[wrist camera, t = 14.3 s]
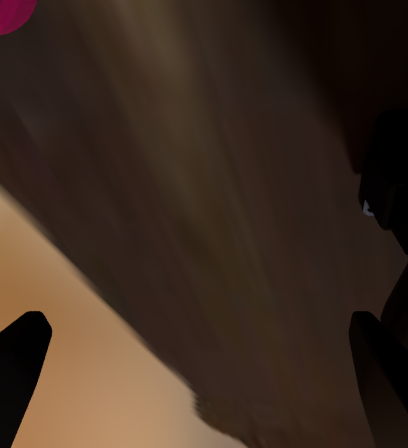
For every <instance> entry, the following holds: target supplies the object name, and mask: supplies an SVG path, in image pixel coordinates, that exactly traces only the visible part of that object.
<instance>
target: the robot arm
mask: <svg viewBox="0 0 408 448" xmlns="http://www.w3.org/2000/svg"><path fill="white" fill-rule="evenodd" d="M388 118H392V120H391V122H390V123H389V124H387V125H385V124H384V122H385V120H386V119H388ZM360 191H361V193H362V195H363V200H362V210H363V212H364V213H365V214H366V215H369V216H375V218H376V220H377V222H378V224H379V225H380V227H381V228H382V229H384V230H392V232H393V234H394V236H395V237H396V239H397V241H398V242H399V244H400V246H401V247H402V249H403V251H404V252H405V254H406V255H408V109H404V110H391V111H386V112H383V113H382V114H381V115H380V116H379V117H378V119H377V123H376V129H375V134H374V140H373V145H372V149H370V150H369V151H368V152H367V153H366V158H365V163H364V169H363V175H362V181H361V187H360ZM368 207H370V209H368ZM380 319H381V322H380V321H379V320H378V319H377V318H376V317H375V316H374V315H373V314H372V313H370V312H368V311H355V312H353V314H352V318H351V322H350V327H349V341H350V346H351V351H352V357H353V362H354V367H355V372H356V378H357V383H358V388H359V393H360V397H361V401H362V404H363V408H364V411H365V414H366V417H367V421H368V424H369V427H370V430H371V433H372V437H373V440H374V443H375V446H376V448H408V263H407V265H406V267H405V269H404V271H403V272H402V274H401V276H400V278H399V280H398V281H397V283H396V285H395V287H394V289H393V291H392V292H391V294H390V296H389V298H388V300H387V301H386V303H385V306H384V308H383V311H382V314H381V317H380ZM51 337H52V328H51V326H50V324H49V323H48V321H47V319H46V318H45V316H44V314H43V313H42V312H40V311H29V312H26V313H24V314H23V315H22V316H20V317H19V318H18V319H17V320H16V321H14V322H13V323H11V324H10V325H9V326H8V327H6V328H5V329H4V330H2V331H1V332H0V448H11V446H12V443H13V441H14V439H15V436H16V434H17V431H18V429H19V426H20V424H21V422H22V419H23V417H24V414H25V412H26V410H27V407H28V405H29V402H30V400H31V397H32V395H33V393H34V390H35V387H36V385H37V382H38V379H39V376H40V373H41V369H42V366H43V363H44V360H45V356H46V353H47V350H48V346H49V343H50V340H51Z"/></svg>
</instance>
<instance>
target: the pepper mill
mask: <svg viewBox="0 0 408 448" xmlns="http://www.w3.org/2000/svg"><path fill="white" fill-rule="evenodd" d="M36 2H37V0H0V35H4V34H7V33H10V32H13V31H15V30H16V29H18V28H19V27H20V26H21V25H23V24H24V23H25V22H26V21H27V20H28V19H29V17H30V16H31V14H32V12H33V10H34V8H35V5H36Z"/></svg>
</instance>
